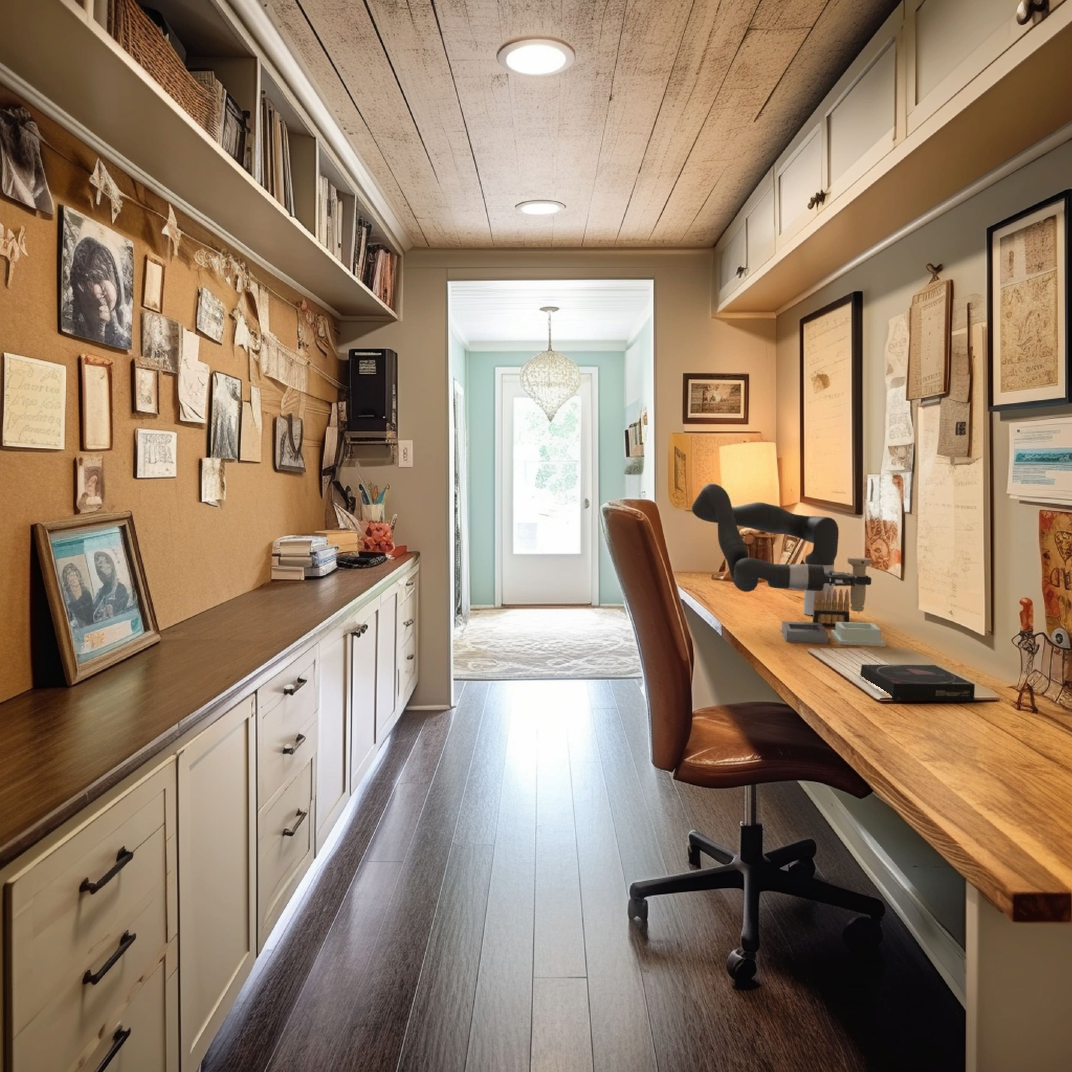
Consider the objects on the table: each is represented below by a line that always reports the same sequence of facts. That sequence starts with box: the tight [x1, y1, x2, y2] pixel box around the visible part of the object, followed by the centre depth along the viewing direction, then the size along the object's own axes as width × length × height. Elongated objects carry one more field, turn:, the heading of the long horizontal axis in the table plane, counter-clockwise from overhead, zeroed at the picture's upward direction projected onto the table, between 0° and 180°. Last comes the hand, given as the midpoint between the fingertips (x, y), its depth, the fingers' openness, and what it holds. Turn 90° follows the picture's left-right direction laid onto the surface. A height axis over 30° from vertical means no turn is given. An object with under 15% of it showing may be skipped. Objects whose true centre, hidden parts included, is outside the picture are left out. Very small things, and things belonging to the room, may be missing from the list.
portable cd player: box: [859, 663, 976, 702], centre depth 165 cm, size 16×17×4 cm
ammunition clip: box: [812, 588, 850, 628], centre depth 236 cm, size 11×2×12 cm, turn 76°
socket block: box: [781, 620, 829, 645], centre depth 220 cm, size 16×11×3 cm
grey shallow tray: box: [830, 621, 887, 648], centre depth 217 cm, size 16×12×4 cm
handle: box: [847, 557, 873, 613], centre depth 216 cm, size 5×6×15 cm
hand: (869, 580), depth 215 cm, fingers closed on handle, 3 cm apart
